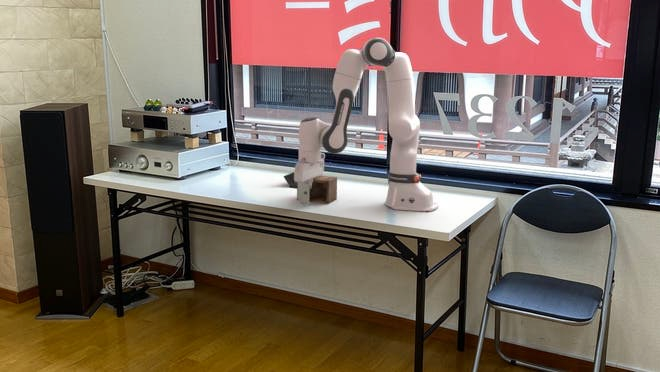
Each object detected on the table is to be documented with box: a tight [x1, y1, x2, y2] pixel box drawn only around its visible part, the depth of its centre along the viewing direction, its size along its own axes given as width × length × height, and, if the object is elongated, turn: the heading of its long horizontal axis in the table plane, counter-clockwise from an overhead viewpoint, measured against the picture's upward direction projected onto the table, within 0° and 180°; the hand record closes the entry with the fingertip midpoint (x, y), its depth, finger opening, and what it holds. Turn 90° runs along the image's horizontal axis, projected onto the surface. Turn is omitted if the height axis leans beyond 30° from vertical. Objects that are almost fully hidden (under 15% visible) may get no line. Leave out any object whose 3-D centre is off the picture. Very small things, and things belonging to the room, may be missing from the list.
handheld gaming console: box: [283, 171, 297, 189], centre depth 305 cm, size 12×7×10 cm
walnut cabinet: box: [296, 175, 338, 205], centre depth 277 cm, size 15×9×10 cm, turn 67°
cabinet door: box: [297, 182, 310, 207], centre depth 269 cm, size 12×2×9 cm, turn 22°
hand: (309, 189), depth 268 cm, fingers closed
